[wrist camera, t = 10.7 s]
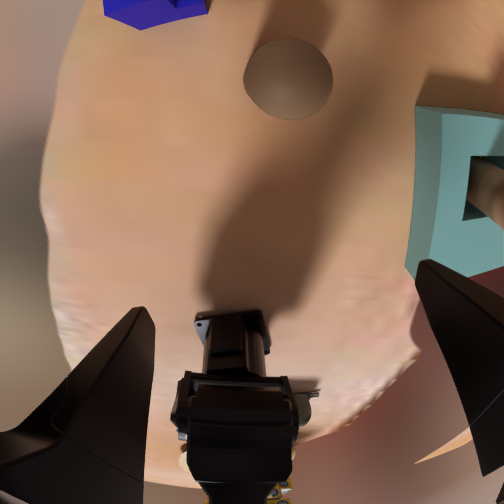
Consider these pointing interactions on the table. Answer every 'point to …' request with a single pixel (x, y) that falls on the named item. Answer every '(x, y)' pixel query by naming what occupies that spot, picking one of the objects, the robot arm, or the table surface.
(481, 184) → the tall walnut pin
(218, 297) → the table surface
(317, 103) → the short walnut pin
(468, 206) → the teal hole plate
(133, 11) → the cable clip
